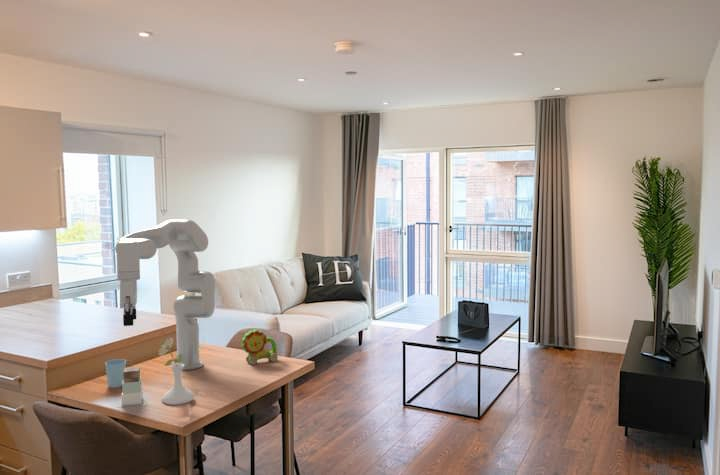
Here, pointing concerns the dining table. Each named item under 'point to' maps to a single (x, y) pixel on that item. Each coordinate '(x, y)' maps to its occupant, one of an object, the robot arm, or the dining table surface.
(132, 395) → the cream brick
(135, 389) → the sage brick
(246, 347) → the toy lion
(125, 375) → the walnut brick
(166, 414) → the dining table surface
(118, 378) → the cup
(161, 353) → the flower in vase
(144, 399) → the build plate
